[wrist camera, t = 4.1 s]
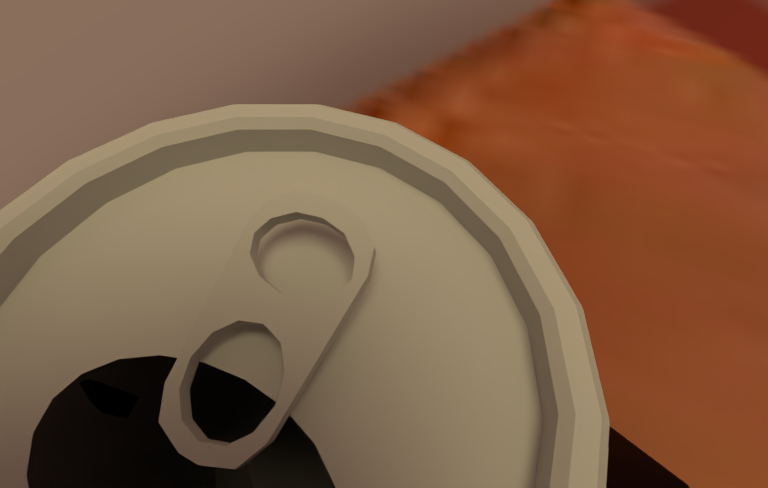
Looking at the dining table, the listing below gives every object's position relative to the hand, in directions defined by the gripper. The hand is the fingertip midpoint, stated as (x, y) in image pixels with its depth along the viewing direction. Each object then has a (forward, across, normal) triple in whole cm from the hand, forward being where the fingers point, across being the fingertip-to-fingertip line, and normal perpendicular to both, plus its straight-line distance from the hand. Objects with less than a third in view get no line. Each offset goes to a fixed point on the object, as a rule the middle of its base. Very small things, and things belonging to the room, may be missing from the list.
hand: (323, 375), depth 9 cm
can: (+4, 0, +6) cm, 7 cm away
